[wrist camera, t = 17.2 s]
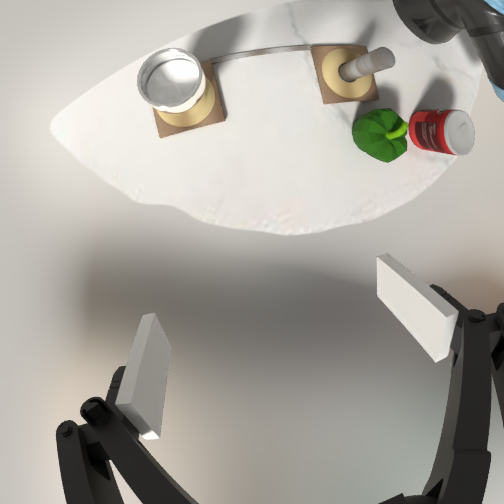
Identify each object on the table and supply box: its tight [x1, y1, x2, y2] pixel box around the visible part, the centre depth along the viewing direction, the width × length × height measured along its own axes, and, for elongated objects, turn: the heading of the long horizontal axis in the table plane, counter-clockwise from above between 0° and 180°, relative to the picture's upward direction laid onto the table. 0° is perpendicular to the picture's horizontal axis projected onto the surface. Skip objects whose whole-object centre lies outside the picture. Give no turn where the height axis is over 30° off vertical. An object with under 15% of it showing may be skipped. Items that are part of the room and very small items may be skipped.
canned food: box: [409, 109, 475, 156], centre depth 39 cm, size 8×8×11 cm
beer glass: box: [137, 48, 206, 117], centre depth 30 cm, size 7×7×15 cm
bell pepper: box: [352, 108, 409, 163], centre depth 39 cm, size 8×8×10 cm
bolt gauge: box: [153, 45, 395, 138], centre depth 33 cm, size 36×11×13 cm, turn 103°
